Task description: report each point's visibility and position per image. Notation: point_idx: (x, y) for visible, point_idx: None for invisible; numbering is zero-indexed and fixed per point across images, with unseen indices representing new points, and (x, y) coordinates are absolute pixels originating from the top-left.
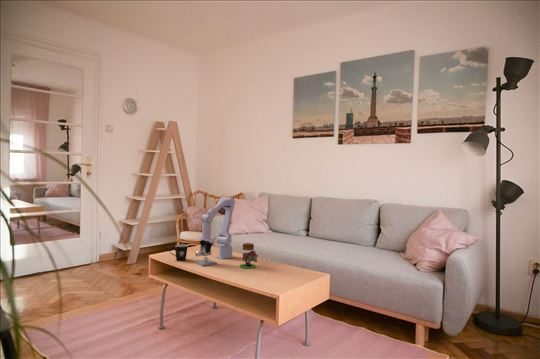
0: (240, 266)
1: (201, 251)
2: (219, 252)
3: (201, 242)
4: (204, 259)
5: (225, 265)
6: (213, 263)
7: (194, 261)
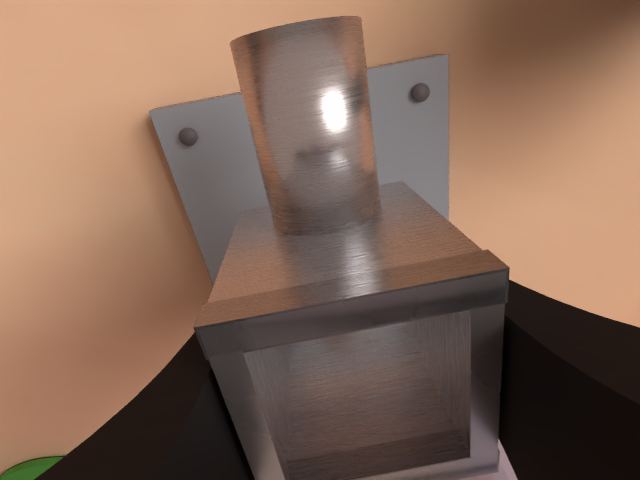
0: (44, 465)
1: (298, 196)
2: (500, 444)
3: (616, 421)
4: None
5: (154, 370)
6: (211, 279)
7: (431, 57)
